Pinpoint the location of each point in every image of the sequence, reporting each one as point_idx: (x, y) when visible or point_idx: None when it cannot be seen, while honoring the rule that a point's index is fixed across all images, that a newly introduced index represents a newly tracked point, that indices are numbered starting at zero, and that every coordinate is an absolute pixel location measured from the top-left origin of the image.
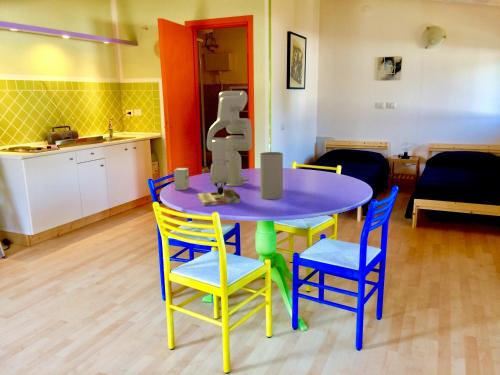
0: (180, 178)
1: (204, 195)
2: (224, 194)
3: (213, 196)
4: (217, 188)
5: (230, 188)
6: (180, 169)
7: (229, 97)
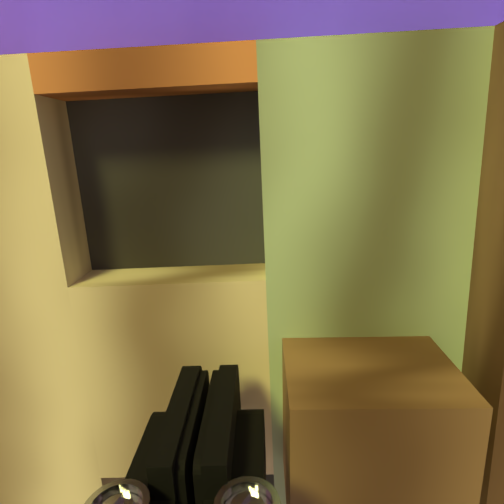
0: None
1: None
2: (284, 430)
3: (94, 381)
4: (126, 474)
5: (472, 410)
6: None
7: None
